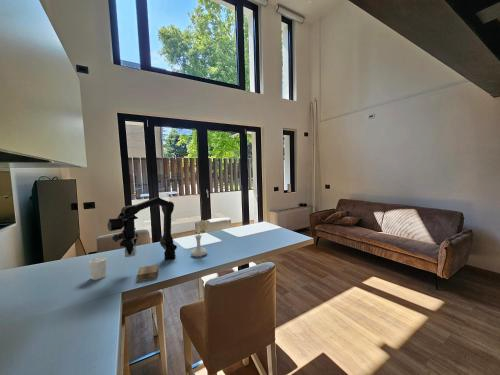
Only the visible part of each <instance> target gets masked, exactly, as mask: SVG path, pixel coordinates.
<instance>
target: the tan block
mask: <svg viewBox="0 0 500 375" xmlns="http://www.w3.org/2000/svg"><path fill="white" fill-rule="evenodd" d="M158 277H159V264H152V265H145V266H140V267H139V268H138V271H137V273H136V279H137V282H141V281H146V280H152V279H157V278H158Z"/></svg>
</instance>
